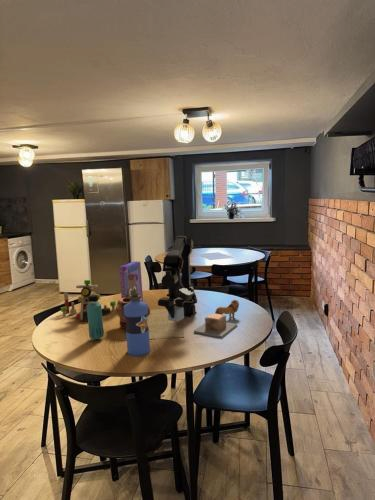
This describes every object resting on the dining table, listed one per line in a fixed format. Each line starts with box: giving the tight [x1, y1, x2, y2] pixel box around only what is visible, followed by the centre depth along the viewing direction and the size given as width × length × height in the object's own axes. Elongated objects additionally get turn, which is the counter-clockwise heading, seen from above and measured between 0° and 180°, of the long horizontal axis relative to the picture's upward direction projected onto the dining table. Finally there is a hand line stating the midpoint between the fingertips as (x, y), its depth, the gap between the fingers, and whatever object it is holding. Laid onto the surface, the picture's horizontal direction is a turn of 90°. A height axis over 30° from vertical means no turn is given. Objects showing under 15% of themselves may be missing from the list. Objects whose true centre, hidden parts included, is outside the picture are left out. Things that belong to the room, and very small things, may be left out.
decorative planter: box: [114, 297, 151, 331], centre depth 163 cm, size 20×12×14 cm, turn 66°
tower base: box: [193, 312, 238, 339], centre depth 156 cm, size 14×16×6 cm
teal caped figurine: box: [87, 295, 105, 340], centre depth 149 cm, size 6×7×20 cm
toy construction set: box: [60, 279, 117, 322], centre depth 185 cm, size 27×22×21 cm
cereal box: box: [118, 261, 144, 301], centre depth 202 cm, size 17×5×24 cm, turn 162°
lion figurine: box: [214, 299, 240, 320], centre depth 168 cm, size 15×5×9 cm, turn 116°
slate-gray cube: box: [167, 306, 185, 323], centre depth 153 cm, size 5×5×5 cm
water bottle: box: [124, 290, 151, 357], centre depth 135 cm, size 9×9×25 cm
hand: (176, 316), depth 153 cm, fingers closed on slate-gray cube, 5 cm apart
